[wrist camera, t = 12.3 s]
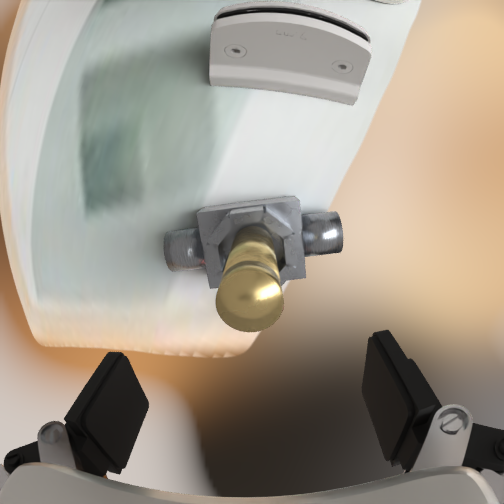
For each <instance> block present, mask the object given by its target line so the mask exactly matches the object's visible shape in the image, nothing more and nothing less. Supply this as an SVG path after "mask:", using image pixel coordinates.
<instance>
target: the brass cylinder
mask: <svg viewBox="0 0 504 504" xmlns="http://www.w3.org/2000/svg"><path fill="white" fill-rule="evenodd" d="M283 306H284V300H283V294H282V288H281V282H280V277H279V271H278V266H277V260H276V255H275V249H274V244H273V240H272V237H271V236H270V234H269V233H268V232H267V231H266V230H265V229H263V228H261V227H257V226H249V227H245V228H243V229H242V230H240V231H239V232H238V233H237V234H236V236H235V238H234V240H233V243H232V247H231V250H230V253H229V256H228V259H227V263H226V266H225V269H224V272H223V275H222V279H221V282H220V285H219V288H218V292H217V295H216V308H217V312H218V314H219V316H220V317H221V319H222V320H223V321H224V322H225V323H226V324H227V325H229V326H230V327H232V328H234V329H236V330H239V331H243V332H257V331H261V330H264V329H266V328H268V327H270V326H271V325H273V324H274V323H275V322H276V321H277V320H278V318H279V317H280V315H281V313H282V310H283Z"/></svg>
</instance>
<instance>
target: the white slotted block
mask: <svg viewBox="0 0 504 504" xmlns="http://www.w3.org/2000/svg"><path fill="white" fill-rule="evenodd" d="M371 54H372V47H371V45H370V37H369V36H368V34H367V32H366V30H365V29H364V28H362V27H361V26H359V25H357V24H356V23H354V22H352V21H350V20H348V19H346V18H344V17H342V16H340V15H337V14H335V13H332V12H329V11H326V10H323V9H320V8H317V7H313V6H309V5H304V4H298V3H291V2H280V1H258V2H247V3H241V4H235V5H231V6H227V7H223V8H222V9H220V10H219V12H218V13H217V14H216V15H215V17H214V22H213V24H212V28H211V41H210V63H209V79H210V84H211V86H225V87H240V88H252V89H261V90H270V91H278V92H285V93H292V94H299V95H305V96H310V97H316V98H321V99H326V100H331V101H335V102H340V103H344V104H349V105H354V103H355V102H356V100H357V99H358V95H359V91H360V87H361V84H362V81H363V78H364V76H365V73H366V70H367V67H368V65H369V62H370V59H371Z"/></svg>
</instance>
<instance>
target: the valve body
mask: <svg viewBox="0 0 504 504" xmlns="http://www.w3.org/2000/svg"><path fill="white" fill-rule="evenodd" d="M196 214H197V220H198V226H199V227H198V228H190V229H183V230H176V231H169V232H167V233H166V235H165V238H164V255H165V260H166V263H167V266H168V268H169V269H170V270H171V271H172V272H175V271H184V270H193V269H203V268H206V270H207V276H208V281H209V286H210V289H211V288H219V285H220V282H221V279H222V275H223V272H224V269H225V266H226V263H227V259H228V256H229V253H230V250H231V247H232V243H233V240H234V238H235V236H236V234H237V233H238V232H239V231H240V230H242V229H243V228H245V227H249V226H257V227H261V228H263V229H265V230H266V231H267V232H268V233H269V234H270V236H271V237H272V240H273V244H274V249H275V255H276V260H277V266H278V271H279V277H280V282H281V286H282V285H283V284H284V283H285V281H286V280H294V279H302V278H306V271H305V257H308V256H316V255H324V254H332V253H340V252H341V251H342V248H343V230H342V225H341V220H340V217H339V215H338V213H337V212H324V213H314V214H305V215H301V209H300V200H299V199H298V198H296V197H295V196H289V197H280V198H271V199H262V200H254V201H246V202H238V203H231V204H223V205H216V206H209V207H204V208H202V209H201V210H200V211H198V212H197V213H196ZM283 309H284V306H283ZM282 311H283V310H282Z"/></svg>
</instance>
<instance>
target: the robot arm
mask: <svg viewBox="0 0 504 504" xmlns="http://www.w3.org/2000/svg"><path fill="white" fill-rule="evenodd" d="M376 1H379V2H383V3H389V4H399V3H403V2H405V1H407V0H376ZM362 394H363V397H364V400H365V403H366V406H367V408H368V411H369V414H370V417H371V419H372V422H373V425H374V428H375V431H376V434H377V437H378V440H379V443H380V446H381V448H382V452H383V455H384V458H385V460H386V461H389V460H390V462H391V465H392V467H393V466H396V465H399V464H401V465H402V468H403V469H404V470H405V471H404V473H403V474H400V475H397V476H393V477H389V478H385V479H381V480H377V481H373V482H369V483H365V484H361V485H356V486H351V487H346V488H341V489H336V490H329V491H323V492H317V493H309V494H301V495H290V496H277V497H255V498H254V497H253V498H252V497H251V498H239V497H237V498H236V497H211V496H198V495H189V494H180V493H172V492H166V491H160V490H154V489H149V488H144V487H139V486H134V485H130V484H125V483H121V482H118V481H114V480H110V479H108V478H107V475H106V473H107V470H108V471H109V472H112V473H116V474H120V473H121V471H122V469H124V468H125V467H126V465H127V462H128V460H129V457H130V454H131V452H132V449H133V446H134V444H135V441H136V439H137V436H138V433H139V431H140V428H141V426H142V423H143V421H144V418H145V416H146V413H147V411H148V408H149V402H148V399H147V398H146V396H145V394H144V392H143V390H142V388H141V385H140V383H139V381H138V379H137V377H136V375H135V373H134V371H133V368H132V366H131V364H130V362H129V360H128V358H127V357H126V356H124V354H123V353H121V352H108V354H107V355H106V356H105V357H104V359H103V360H102V362H101V363H100V365H99V366H98V368H97V369H96V370H95V372H94V373H93V375H92V376H91V378H90V379H89V381H88V383H87V384H86V385H85V387H84V388H83V390H82V392H81V393H80V394H79V396H78V397H77V399H76V401H75V402H74V404H73V405H72V407H71V408H70V410H69V411H68V413H67V415H66V416H65V418H64V420H65V421H66V424H65V425H64V424H63V423H61V422H59V421H52V422H48V423H46V424H45V425H44V426H42V427H41V429H40V430H39V432H38V438H37V439H38V441H36V442H33V443H30V444H28V445H25V446H22V447H19V448H17V449H14V450H12V451H10V452H9V453H8V454H7V455H6V457H5V459H4V466H3V465H2V464H0V504H504V430H501V429H496V428H492V427H487V426H483V425H479V424H475V423H472V422H473V419H472V416H471V414H470V412H469V411H468V410H467V409H466V408H464V407H463V406H460V405H453V404H451V405H446V406H444V407H442V405H441V404H440V402H439V400H438V399H437V397H436V396H435V394H434V392H433V390H432V389H431V387H430V386H429V384H428V382H427V381H426V379H425V377H424V376H423V374H422V373H421V371H420V370H419V368H418V366H417V365H416V363H415V362H414V361H413V360H412V359H407V357H406V356H405V354H404V352H403V351H402V349H401V348H400V346H399V345H398V343H397V342H396V340H395V339H394V337H393V336H392V334H391V333H390V331H389V330H384V331H379V332H374V333H373V336H372V337H369V339H368V346H367V354H366V362H365V370H364V376H363V383H362Z"/></svg>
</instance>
